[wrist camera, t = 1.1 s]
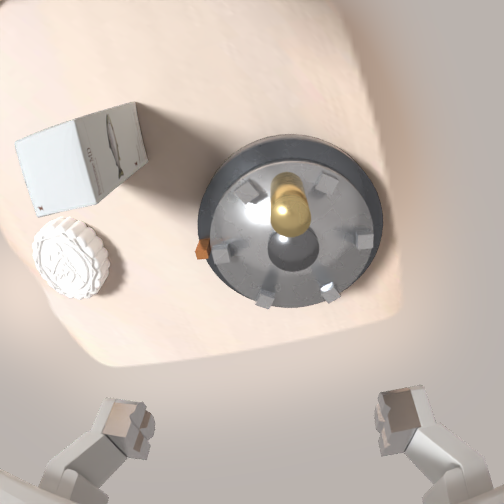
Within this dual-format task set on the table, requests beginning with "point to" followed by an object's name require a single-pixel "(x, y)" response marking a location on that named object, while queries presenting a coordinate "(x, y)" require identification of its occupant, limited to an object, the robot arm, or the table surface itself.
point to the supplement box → (81, 159)
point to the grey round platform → (275, 150)
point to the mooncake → (71, 257)
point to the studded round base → (291, 233)
